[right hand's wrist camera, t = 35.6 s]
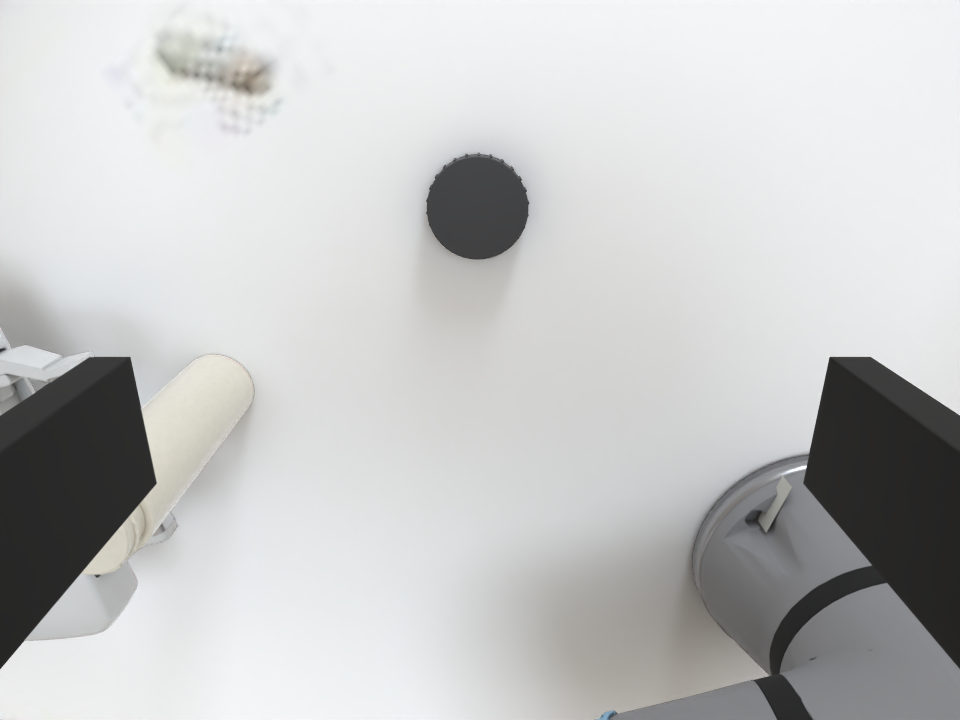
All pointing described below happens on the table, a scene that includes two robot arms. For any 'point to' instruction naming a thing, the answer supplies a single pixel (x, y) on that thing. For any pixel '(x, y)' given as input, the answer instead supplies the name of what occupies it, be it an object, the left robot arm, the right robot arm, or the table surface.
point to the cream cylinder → (180, 445)
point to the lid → (477, 206)
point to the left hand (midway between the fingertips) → (132, 448)
